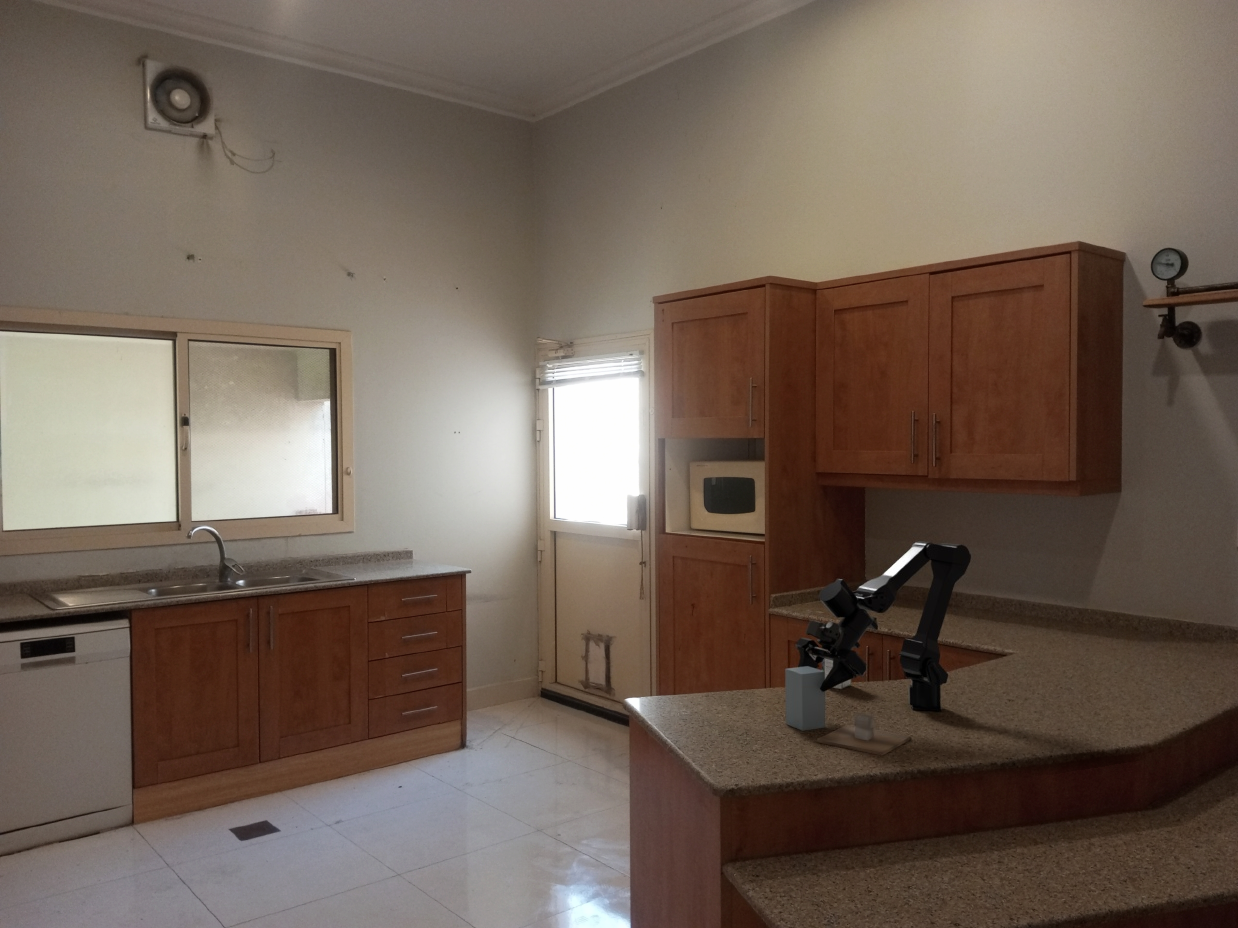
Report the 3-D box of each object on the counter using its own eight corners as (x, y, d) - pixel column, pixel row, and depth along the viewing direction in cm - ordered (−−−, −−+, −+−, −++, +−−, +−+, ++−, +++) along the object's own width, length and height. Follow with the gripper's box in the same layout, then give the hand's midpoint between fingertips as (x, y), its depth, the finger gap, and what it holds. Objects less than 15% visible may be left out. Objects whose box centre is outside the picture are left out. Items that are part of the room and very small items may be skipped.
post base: (847, 727, 198) (847, 703, 198) (911, 738, 189) (910, 714, 190) (816, 742, 188) (816, 716, 188) (882, 755, 179) (882, 728, 179)
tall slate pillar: (808, 720, 204) (807, 666, 204) (825, 727, 199) (824, 671, 199) (785, 723, 201) (785, 668, 202) (802, 730, 196) (801, 674, 196)
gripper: (802, 601, 211) (761, 654, 206) (855, 613, 194) (813, 670, 190) (829, 633, 215) (790, 686, 210) (885, 647, 198) (843, 704, 193)
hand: (808, 685), depth 200 cm, fingers open, 9 cm apart
